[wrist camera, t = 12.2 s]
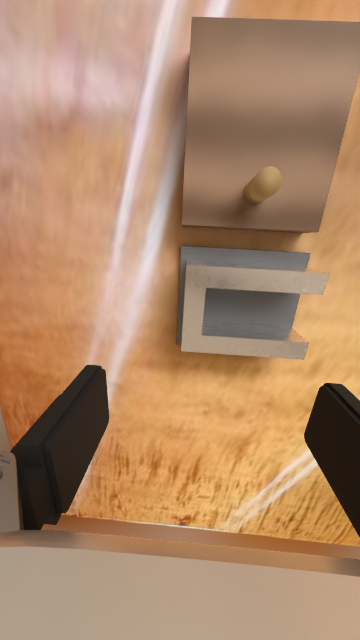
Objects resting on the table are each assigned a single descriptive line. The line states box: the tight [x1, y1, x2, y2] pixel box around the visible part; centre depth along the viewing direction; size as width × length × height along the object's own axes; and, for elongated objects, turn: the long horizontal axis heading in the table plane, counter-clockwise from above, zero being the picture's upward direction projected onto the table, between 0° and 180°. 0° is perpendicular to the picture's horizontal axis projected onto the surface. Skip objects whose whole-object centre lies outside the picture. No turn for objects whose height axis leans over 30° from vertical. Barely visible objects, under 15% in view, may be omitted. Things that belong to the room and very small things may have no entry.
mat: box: [176, 246, 310, 344], centre depth 26 cm, size 12×14×1 cm
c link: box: [181, 261, 329, 360], centre depth 23 cm, size 13×9×4 cm
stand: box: [181, 17, 360, 233], centre depth 18 cm, size 14×13×6 cm
